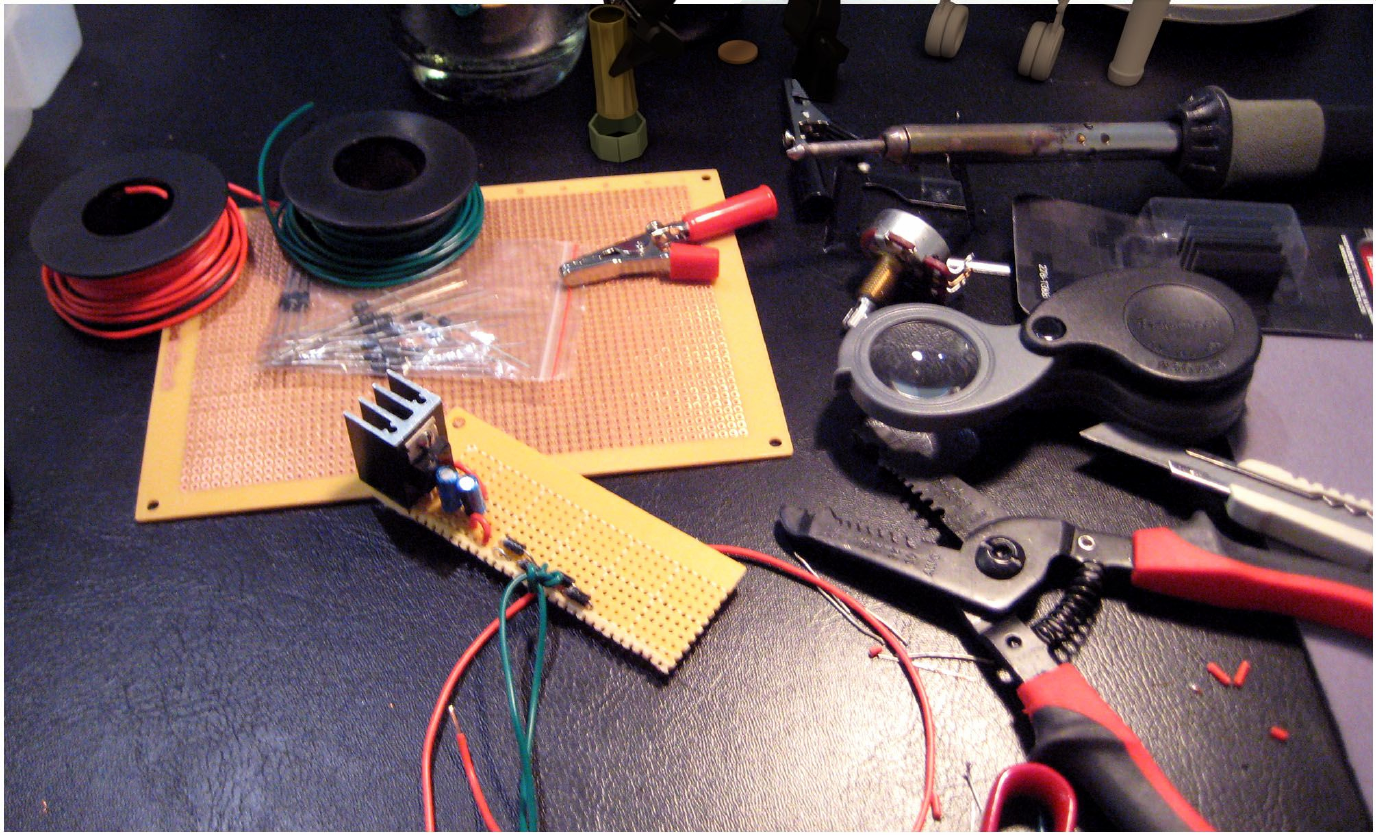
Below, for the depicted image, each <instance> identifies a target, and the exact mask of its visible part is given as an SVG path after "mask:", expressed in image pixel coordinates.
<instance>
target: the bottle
mask: <svg viewBox="0 0 1376 835" xmlns="http://www.w3.org/2000/svg"><path fill="white" fill-rule="evenodd" d="M1171 1H1172V0H1132V2H1131V5H1130V8H1129V11H1128V14H1127V17H1126V20H1125V22H1124V27H1123V30H1122V32H1121V36H1120V37H1119V38H1120V39H1119V42H1118V45H1117V47H1116V51H1115V54H1114V57H1113V60H1112V61H1111V62H1110V63H1109V66H1108V70H1107V78H1108V80H1109V81H1110V82H1111V83H1113V84H1115V85H1118V86H1123V87H1131V86H1134V85H1136V84H1137V83H1139V81H1141V78H1142V77H1143V75H1144V72H1145V65H1146V62H1147V60H1148V57H1149V55H1150V52H1151V50H1152V48H1153V45H1154V42H1155V41H1156V38H1157V35H1158V34H1159V33H1158V32H1159V30H1160V28H1161V26H1162V22H1163V21H1164V18H1165V16H1166V13H1167V11H1168V9H1169V6H1170V3H1171Z"/></svg>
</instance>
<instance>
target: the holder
mask: <svg viewBox="0 0 1376 835" xmlns="http://www.w3.org/2000/svg"><path fill="white" fill-rule="evenodd" d="M646 120H647V119H646V118H645V117H644V116H643V115H642V114H641V112H640V111H639V110H637V111H636V112H635V113H634V114H633V115H632V116H630V117H627V118H624V119H618V120H614V119H607V118H604V117H603V116H601V115H600V114H599V113H598V112H595V114H594V115H593V117H592V118H591V120H590V121H589V122H588V125H587V126H588V134H589V139H590V140H589V141H590V148H591V149H592V151H593V152H594V154H595V155H596V156H597V158H598V159H600V160H602V161H607V162H613V163H624V162H627V161H630V160H634V159H638V158H640V156H642V155H643V153H644V152H645V150H646V148H647V146H648V142H649V141H648V129H647V121H646ZM618 132H623V133H626V134H625V135H622V136H618V137H615V136H611V134H615V133H618ZM627 133H628V134H627ZM609 135H610V136H609Z"/></svg>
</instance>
